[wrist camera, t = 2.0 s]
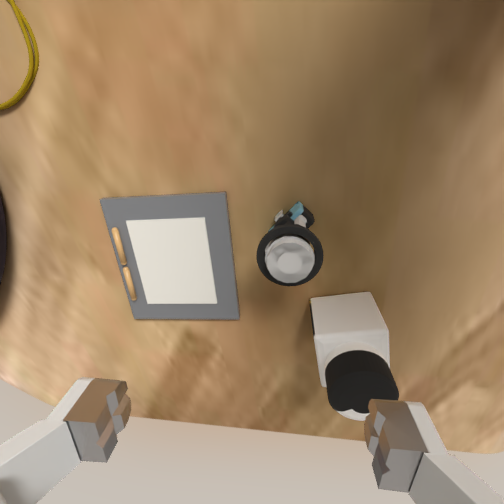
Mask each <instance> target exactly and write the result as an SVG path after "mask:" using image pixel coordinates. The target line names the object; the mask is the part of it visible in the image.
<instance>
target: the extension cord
mask: <svg viewBox="0 0 504 504" xmlns="http://www.w3.org/2000/svg"><path fill="white" fill-rule="evenodd" d="M7 1H8V2H9V3H10V4H11V6H12V8H13V10H14V12H15V15H16V17H17V19H18V22H19V24H20V27H21V29H22V32H23V34H24V38H25V41H26V44H27V47H28V53H29V70H28V74H27V76H26V78H25V80H24V83H23V85H22V86H21V88H20V89H19V91H18V92H17V93H16V94H15V95H14V96H13V97H12V98H11V99H10V100H8V101H7V102H5V103H3V104H0V110H4V109H7V108H9V107H11V106H13V105H14V104H16V103H17V102H18V101H19V100H20V99H21V98H22V97H23V96H24V95H25V93H26V92H27V91H28V89H29V87H30V86H31V84H32V82H33V80H34V78H35V76H36V74H37V71H38V66H39V53H38V47H37V43H36V40H35V37H34V34H33V32H32V30H31V28H30V26H29V24H28V22H27V20H26V18H25V17H24V15H23V14H22V12H21V11H20V9H19V8H18V7H17V6H16V5H15V2H14V0H7ZM22 20H23V21H22ZM23 22H24V24H25V26H26V28H27V30H28V32H29V34H30V37H31V40H32V43H33V47H34V53H35V64H34V58H33V51H32V47H31V43H30V40H29V37H28V34H27V31H26V29H25V26H24V24H23ZM33 68H34V69H33Z"/></svg>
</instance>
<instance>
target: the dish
mask: <svg viewBox="0 0 504 504" xmlns="http://www.w3.org/2000/svg"><path fill="white" fill-rule="evenodd" d="M5 260H6V223H5V216H4V209H3V205H2V200H1V196H0V283H1V280H2V276H3V272H4V266H5Z"/></svg>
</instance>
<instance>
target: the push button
mask: <svg viewBox="0 0 504 504" xmlns="http://www.w3.org/2000/svg"><path fill="white" fill-rule="evenodd" d="M282 213H283V210H281V211H280V212H279V213H278V214H277V215H276V216H275V222H276V223H275V225H274V226H273V227H272V228H271V229H270V230H269V231H268V233H267V234H266V235H265V236H264V237H263V238H262V240H261V241H260V243H259V246H258V250H257V263H258V266H259V268H260V270H261V272H262V273H263V274H264V276H265V277H267V278H268V279H269V280H271V281H272V282H274V283H276V284H279V285H283V286H297V285H301V284H304V283H306V282H308V281H309V280H311V279H312V278H313V277H314V276H316V274H317V273H318V272H319V270H320V268H321V266H322V263H323V249H322V246H321V243H320V241H319V240H318V238H317V237H316V236H315V235H314V234H313V233H312V232H311V231H309V229H308V228H309V227H310V226H311V225H312V224H313V223H314V217H313V214H312V213H311V212H310V211H309V210H308V209H307V208H306V207H304V206H303V205H302V204H301V203H300V202H299V201H298V202H297V203H296V204H295V205H294V206H293V207H292V208H291V209H290V210H289V211H288V212H287V213H286V214H285V215H283V214H282ZM309 241H310V242H309ZM310 243H311V244H312V245H313V247H314V252H313V250H312V248H311V246H310ZM265 253H266V254H265Z"/></svg>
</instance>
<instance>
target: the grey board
mask: <svg viewBox="0 0 504 504" xmlns="http://www.w3.org/2000/svg"><path fill="white" fill-rule="evenodd" d="M100 203H101V206H102V210H103V213H104V217H105V220H106V223H107V227H108V230H109V234H110V237H111V241H112V244H113V247H114V251H115V254H116V258H117V261H118V265H119V268H120V271H121V275H122V278H123V282H124V285H125V289H126V292H127V295H128V299H129V302H130V306H131V309H132V313H133V316H134V319H239V318H240V311H239V302H238V293H237V284H236V275H235V266H234V257H233V248H232V239H231V230H230V221H229V212H228V203H227V194H226V192H211V193H191V194H172V195H152V196H132V197H112V198H102V199H100Z"/></svg>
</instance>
